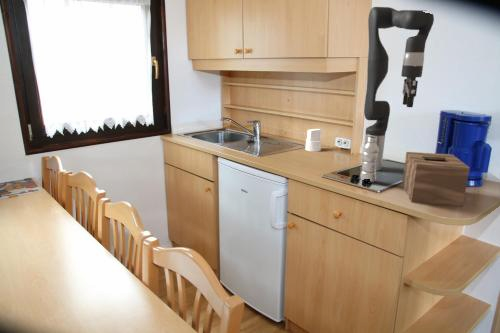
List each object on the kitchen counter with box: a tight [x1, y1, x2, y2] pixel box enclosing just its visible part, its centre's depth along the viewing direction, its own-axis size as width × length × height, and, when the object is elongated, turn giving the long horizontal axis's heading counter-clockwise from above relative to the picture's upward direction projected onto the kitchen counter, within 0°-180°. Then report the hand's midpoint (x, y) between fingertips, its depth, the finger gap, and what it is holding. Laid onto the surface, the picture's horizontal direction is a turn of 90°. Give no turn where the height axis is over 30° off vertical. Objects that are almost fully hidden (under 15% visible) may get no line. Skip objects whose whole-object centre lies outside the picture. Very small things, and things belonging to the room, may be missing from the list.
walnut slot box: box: [401, 151, 471, 207], centre depth 150 cm, size 20×18×15 cm
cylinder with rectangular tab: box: [305, 128, 322, 152], centre depth 224 cm, size 9×9×12 cm
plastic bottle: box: [360, 137, 379, 183], centre depth 165 cm, size 6×7×20 cm
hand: (407, 105), depth 154 cm, fingers open, 8 cm apart
